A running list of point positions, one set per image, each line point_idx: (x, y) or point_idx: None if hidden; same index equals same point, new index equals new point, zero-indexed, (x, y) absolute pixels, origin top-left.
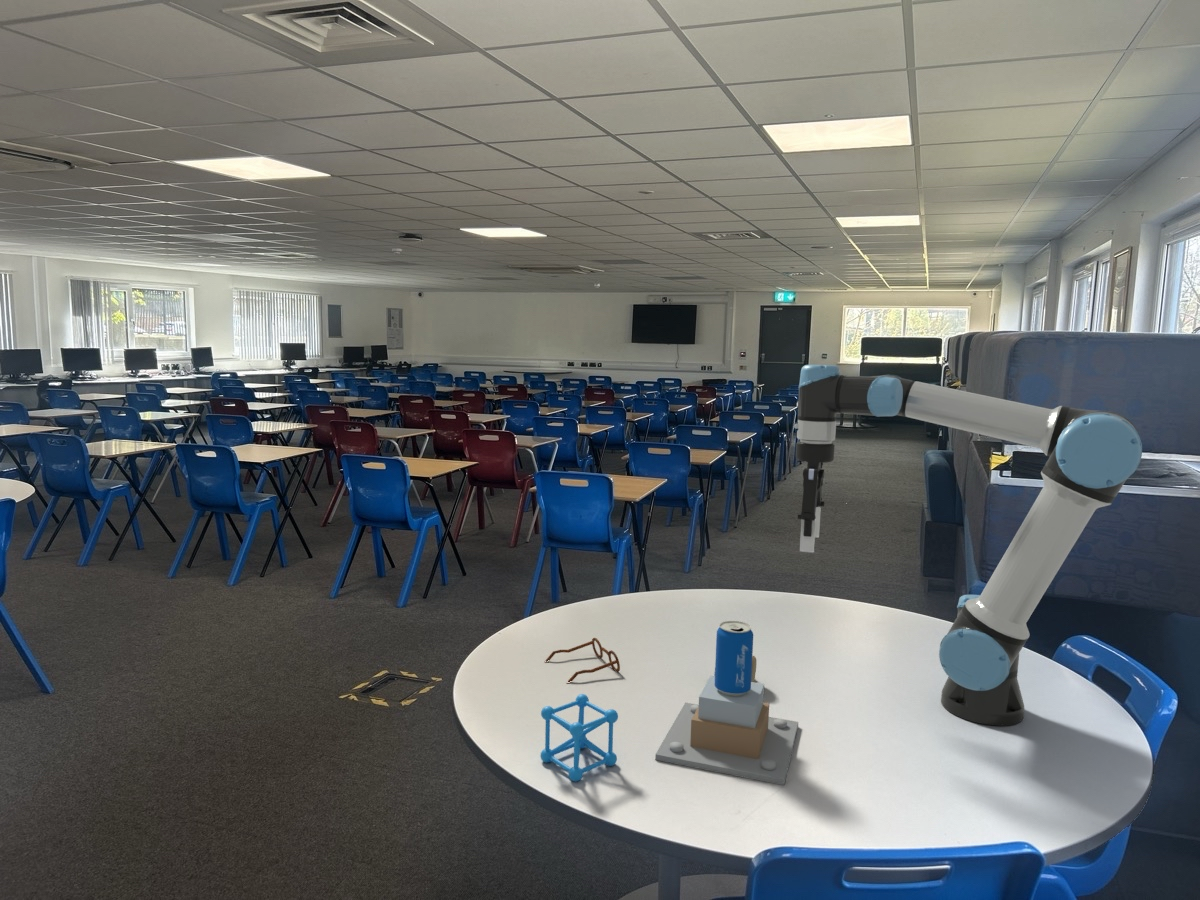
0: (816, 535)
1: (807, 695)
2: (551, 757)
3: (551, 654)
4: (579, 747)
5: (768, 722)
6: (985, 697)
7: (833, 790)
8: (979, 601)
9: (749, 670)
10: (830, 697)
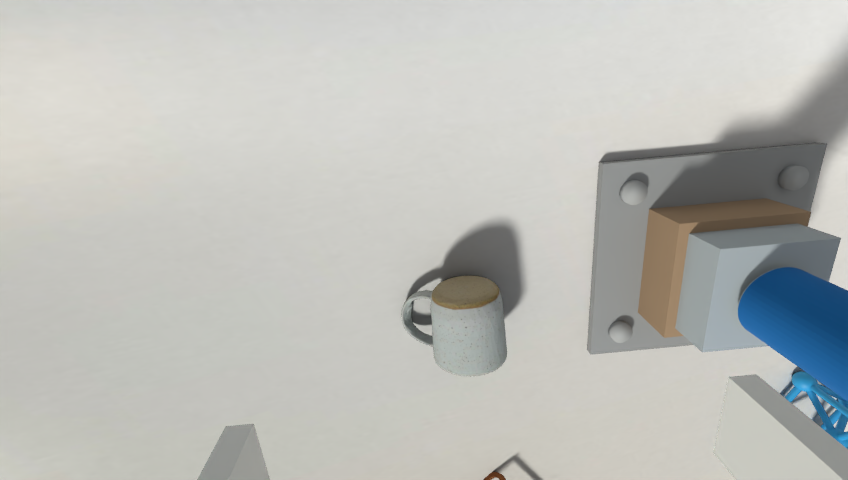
0: (251, 452)
1: (446, 171)
2: None
3: None
4: (843, 424)
5: (623, 213)
6: None
7: (821, 59)
8: None
9: (843, 289)
10: (435, 125)
